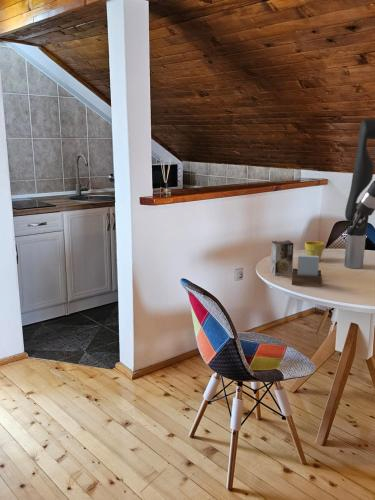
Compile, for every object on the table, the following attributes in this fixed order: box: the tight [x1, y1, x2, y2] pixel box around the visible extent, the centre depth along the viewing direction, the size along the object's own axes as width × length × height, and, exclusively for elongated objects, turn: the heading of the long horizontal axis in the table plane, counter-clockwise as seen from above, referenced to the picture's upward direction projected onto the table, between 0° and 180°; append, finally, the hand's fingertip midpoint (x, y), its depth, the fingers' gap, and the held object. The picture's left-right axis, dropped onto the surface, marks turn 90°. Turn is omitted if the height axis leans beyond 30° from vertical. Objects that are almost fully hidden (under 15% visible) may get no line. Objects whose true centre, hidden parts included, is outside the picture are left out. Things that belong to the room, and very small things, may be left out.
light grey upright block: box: [297, 254, 320, 276], centre depth 215 cm, size 3×9×12 cm, turn 77°
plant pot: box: [304, 240, 326, 262], centre depth 257 cm, size 10×10×10 cm
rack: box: [291, 268, 323, 287], centre depth 219 cm, size 11×13×4 cm
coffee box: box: [270, 239, 294, 277], centre depth 231 cm, size 9×6×16 cm
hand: (350, 230), depth 218 cm, fingers open, 8 cm apart
